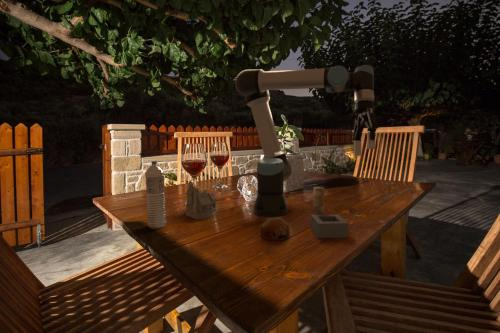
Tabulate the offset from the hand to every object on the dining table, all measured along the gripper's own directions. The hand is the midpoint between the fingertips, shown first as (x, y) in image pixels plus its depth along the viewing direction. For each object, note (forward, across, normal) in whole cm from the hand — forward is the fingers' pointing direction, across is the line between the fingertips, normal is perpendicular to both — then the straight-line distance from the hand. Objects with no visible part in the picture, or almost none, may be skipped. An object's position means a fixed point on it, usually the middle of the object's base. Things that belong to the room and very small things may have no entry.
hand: (364, 152), depth 114 cm
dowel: (+29, -1, +18) cm, 35 cm away
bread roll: (+34, -13, +36) cm, 51 cm away
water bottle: (+34, -1, +80) cm, 87 cm away
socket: (+32, -10, +17) cm, 38 cm away
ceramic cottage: (+29, +15, +65) cm, 73 cm away
